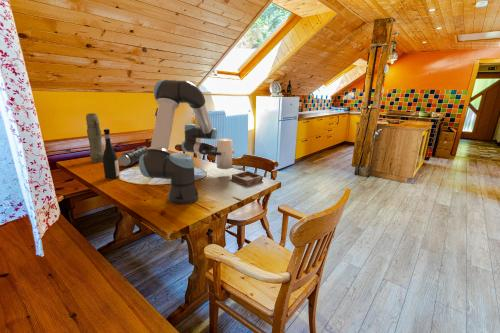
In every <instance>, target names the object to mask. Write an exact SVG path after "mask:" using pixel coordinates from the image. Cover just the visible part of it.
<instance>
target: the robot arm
mask: <svg viewBox="0 0 500 333" xmlns="http://www.w3.org/2000/svg"><path fill="white" fill-rule="evenodd" d="M153 93H154V94H153V97H154V100H155V101H156V104H157V105H158V108H157V113H156V118H155V122H154V129H153V134H152V138H151V142H150V147H147V148H148V149H147V151H146V154H143V155H141V157H140V159H139V161H138V168H139V171H140V173H141V175H142V176H143V177H146V178H151V179H164V180H165V179H166V180H170V187H169V190H168V195H167V198H168V199H167V200H168V202H169V203H171V204H174V205H189V204H192V203H195V202H196V201H198V199H199V191H198V189H197V187H196V185H195V161H194V157H193V156H192V155H190V154H188V153H192V154H198V155H205V156H206V155H208V156H212V157H213V156H214V157H217V155H218V156H224V157H226V152H221V151H217V145H214V146H210V145H209V144H208V143H204V142H198V141H197V139H203V140H217V137H218V130H217V128H215V127H213V125H212V123H211V120H210V117H209V113H208V111H207V106H206V98H205V96H204V94H203V92H202V90H201V89H200V88H199V87H198V86H197V85H196V84H194V83H192V82H191V81H189V80H173V79H172V80H170V79H161V80H158V81H157V82H156V83H155V84H154V88H153ZM180 103H181V104H188V106H189V107H190V108H191V109H192V110H193V114H194V116H195V118H196V121H197V123H198V126H199V127H197V125H196V124H195V123H186V124H184V140H183V141H182V142H181V145H180V147H181V149H182V151H184V152H187V153H184V152H172V153H171V152H170V151H169V146H170V142H171V141H170V140H171V135H172V129H173V125H174V119H175V113H176V110H177V109H178V108H179V107H180ZM235 152H236V150H235V148H234V149H233V148H232V154H235Z"/></svg>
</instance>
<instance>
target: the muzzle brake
mask: <svg viewBox="0 0 500 333" xmlns="http://www.w3.org/2000/svg"><path fill="white" fill-rule="evenodd" d="M148 148H149V147H147V146H146V145H142V146H140V147H137V148H134V149H132V150H129V151H127V152H126V151H125V152H122V153H121V154H120V155H119V157H118V164H120V165H121V166H123V167H131V166H133V165H134V164H135V163H139V159H140V157H141V155H143V154H146V151H147V149H148Z"/></svg>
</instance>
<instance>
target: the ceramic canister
mask: <svg viewBox="0 0 500 333" xmlns="http://www.w3.org/2000/svg"><path fill="white" fill-rule="evenodd" d="M233 141H234V140H233V139H231V138H218V139H217V138H216V147H217V151H221V152H226V157H224V156H218V155H216V168H218V169H220V170H230V169H232V168H233V153H232V149H233V144H234V143H233Z"/></svg>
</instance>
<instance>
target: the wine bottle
mask: <svg viewBox="0 0 500 333" xmlns="http://www.w3.org/2000/svg"><path fill="white" fill-rule="evenodd" d="M103 133H104V140H105V149H104V150H103V152H104V155H103V162H102V166H103V171H104V172H103V173H104V178H105V179H107V180H114V179H115V180H116V179H118V178H119V177H120V168H119V158H118V156H117V153H116V151H115V150H114V149H113V146H112V143H111V134H110V133H111V132H110V129H109V128H105V129H103Z"/></svg>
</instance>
